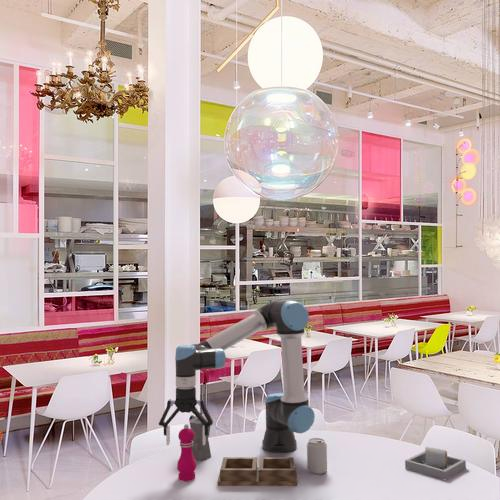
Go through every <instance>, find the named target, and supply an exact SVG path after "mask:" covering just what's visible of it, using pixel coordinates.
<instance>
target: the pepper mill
mask: <svg viewBox="0 0 500 500" xmlns="http://www.w3.org/2000/svg"><path fill="white" fill-rule="evenodd" d="M178 439H179V441H180V442H179V446H180V450H181V451H180V456H179V459H178V461H177V464H176V465H177V466H176V470H177V471H178V474H177V475H178V476H177V477H178V480H179V481H181V482H191V481H193V480H195V479H196V472H195V470H196V469H197V460H195V459H194V456H193V453H192V446H193V441H192V440H193V439H194V431H193V430H192V429H191V428H190V425H189V424H184V425H183V428H182V429H181V430H180V431H179V433H178Z"/></svg>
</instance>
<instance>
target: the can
mask: <svg viewBox="0 0 500 500" xmlns="http://www.w3.org/2000/svg"><path fill="white" fill-rule="evenodd" d="M325 440H326V439H324V438H320V437H313V438H310V439H309V438H308V442H307V443H306V456H307V457H306V460H307V461H306V462H307V465H306V466H307V468H306V469H307V471H309V473H310V474H313V475H322V474H325V473H326V472H327V470H328V451H327V449H328V448H327V447H328V445H327V442H326V441H325Z"/></svg>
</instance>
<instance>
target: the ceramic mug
mask: <svg viewBox="0 0 500 500" xmlns="http://www.w3.org/2000/svg"><path fill="white" fill-rule="evenodd" d="M424 449H425V450H424V451H425V461H424V465H428V466H431V467H435V468H438V469H442V470H445V469H446V468H448V465H447V456H448V451H447V450H445V449H441V448H435V447H431V446H425V448H424Z"/></svg>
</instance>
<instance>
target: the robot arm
mask: <svg viewBox="0 0 500 500" xmlns="http://www.w3.org/2000/svg"><path fill="white" fill-rule="evenodd" d="M309 319H310V317H309V311H308V310H307V308H306V306H305V305H304V304H303V303H301V302H299V301H296V300H295V301H294V300H285V299H284V300H283V299H277V300H276V299H275V300H273V301H270V302H269V303H266V304H265V305H263V306H260V308H257V309H255V310H254V311H253V312H252V314H251V315H249V316H247V317H245V318H244V319H241V320H240V321H239V322H236V323H234V324H232V325H231V326H229V327H227V328H225V329H224V330H222V331H220V332H217V333H216V334H214V335H212V336H211V337H209V338H207V339H205V340H203V341H201V342H199V343H193V344H189V345H187V344H186V345H184V344H183V345H182V344H181V345H179V346H177V347H176V349H175V356H174V357H175V358H174V360H175V400H172V399H171V398H170V399H168V400H167V404H166V408H165V410H164V412H163V414H162V415H161V418H160V420H159V422H158V426H161V427H163V436H165V437H166V442H165V443H166V446H169V445H170V443H171V431H170V430H171V425H170V423H171V421H172V420H173V419H174V418H175V417H176V416H177V414H178V413H179V412H180V413H192V415H194V416H196V417H197V418H198V419H199V420H200V422H201V423H202V424H203V445H205V443H206V436H207V435H208V426H210V427H211V426H213V424H214V421H213V418H212V416H211V415H210V412H209V411H208V409H207V407H206V405H205V399H203V398H202V399H199V400H197V398H196V397H197V396H196V395H197V390H196V389H197V388H196V387H195V386H197V383H196V382H197V377H196V376H197V375H196V373H197V372H196V371H201V370H202V371H203V370H217V369H220V368H223V367H225V365H226V359H227V358H226V353H225V351H226V350H227V349H230V348H232V347H233V346H235V345H236V344H238V343H240V342H242V341H243V340H246V339H248V338H250V337H252V335H255V334H256V333H259V332H261V331H263V332H264V331H267V330H269V329H272V328H276V335H277V336H278V337H279V338H280V348H281V364H282V365H281V366H282V368H281V369H282V381H283V384H282V385H283V392H279V393H278V392H277V393H270V394H268V395H266V397H265V404H264V405H265V432H264V435H263V439H262V442H261V443H262V444H261V446H262V449H263V450H265V451H267V452H268V451H269V452H272V453H286V452H287V453H288V452H292V451H294V450H296V449H297V446H298V445H297V444H298V443H297V439H296V437H295V436H296V435H295V433H296V434H304V433H306V432H308V431H309V430H310V429H311V427H313V425H314V422H315V416H316V415H315V412H314V410H313V408H312V407H311V406H310V405H309V403H310V401H309V396H308V395H307V394H305V382H304V381H305V380H304V379H305V378H304V367H303V366H304V365H303V362H304V361H303V347H302V336H303V335H304V334H305V328H306V326H307V324H308V323H309V321H310V320H309ZM197 405H198V406H199V407H200V409H201V411H202V412H203V413H202V415H201V414H200V413H201V412H200V411H199V410H198V409H197V407H196V406H197ZM173 406H175V407H176V409H175V410H174V412H172V414H171V415H170V416H169V417H168V419H167V420H166V421H165V419H166V417H167V416H168V413H169V412H170V409H171V408H172V407H173ZM203 415H204V416H203ZM204 418H206V419H207V421H208V422H207V421H206V420H205V419H204Z"/></svg>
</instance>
